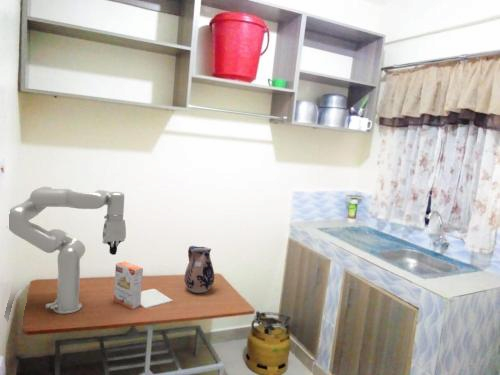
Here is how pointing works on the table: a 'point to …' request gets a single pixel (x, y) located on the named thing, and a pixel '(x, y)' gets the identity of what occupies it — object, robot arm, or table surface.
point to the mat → (153, 298)
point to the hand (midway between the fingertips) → (112, 253)
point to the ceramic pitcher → (199, 270)
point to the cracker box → (128, 285)
